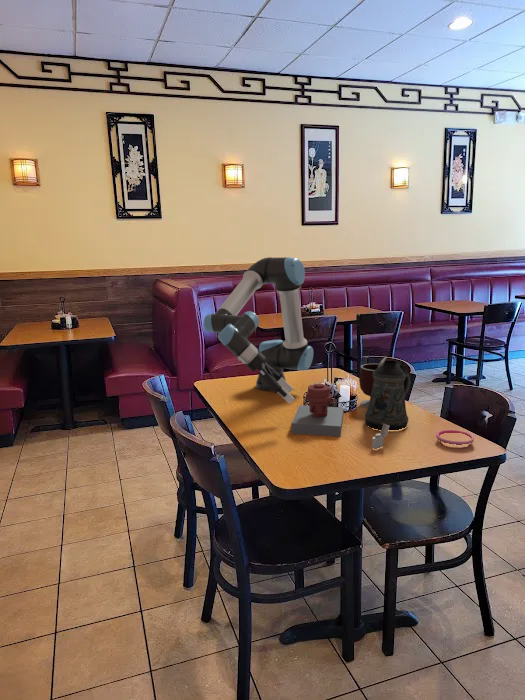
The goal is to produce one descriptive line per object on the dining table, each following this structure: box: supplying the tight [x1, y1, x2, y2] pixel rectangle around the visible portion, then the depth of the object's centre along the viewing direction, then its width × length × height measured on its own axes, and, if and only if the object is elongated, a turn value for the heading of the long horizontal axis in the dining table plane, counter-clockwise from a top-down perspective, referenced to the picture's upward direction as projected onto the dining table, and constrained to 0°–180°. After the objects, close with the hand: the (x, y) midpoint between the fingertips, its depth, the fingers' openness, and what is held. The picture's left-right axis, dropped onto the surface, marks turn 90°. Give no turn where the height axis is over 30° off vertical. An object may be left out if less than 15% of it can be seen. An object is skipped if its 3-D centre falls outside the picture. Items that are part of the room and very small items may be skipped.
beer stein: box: [364, 360, 411, 430], centre depth 198 cm, size 16×19×25 cm
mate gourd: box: [358, 356, 387, 409], centre depth 222 cm, size 16×14×20 cm
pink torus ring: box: [435, 429, 475, 445], centre depth 180 cm, size 12×12×3 cm
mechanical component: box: [305, 382, 333, 418], centre depth 198 cm, size 12×10×10 cm
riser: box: [291, 404, 345, 438], centre depth 199 cm, size 22×18×4 cm
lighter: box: [371, 424, 390, 449], centre depth 176 cm, size 7×2×8 cm, turn 127°
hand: (291, 396), depth 198 cm, fingers open, 13 cm apart
